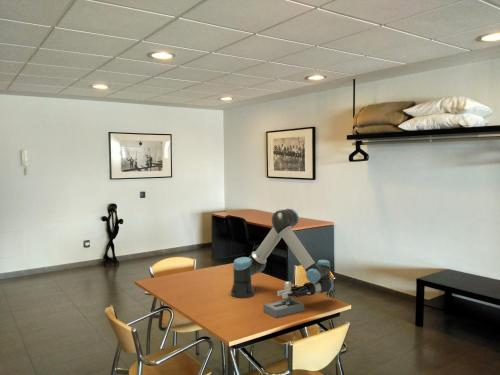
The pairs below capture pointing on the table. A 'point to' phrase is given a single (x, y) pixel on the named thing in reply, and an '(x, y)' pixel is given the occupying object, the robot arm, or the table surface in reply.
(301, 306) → the keyhole plate
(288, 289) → the steel peg
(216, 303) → the table surface
